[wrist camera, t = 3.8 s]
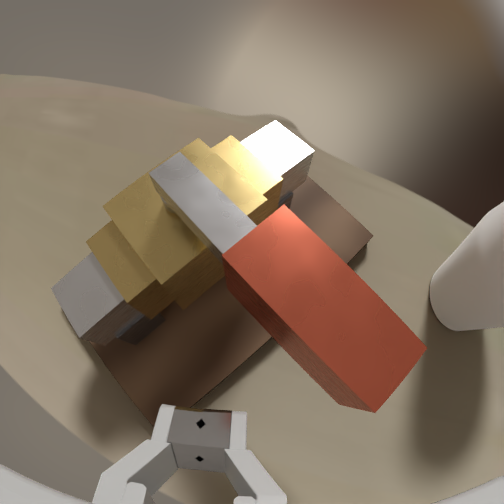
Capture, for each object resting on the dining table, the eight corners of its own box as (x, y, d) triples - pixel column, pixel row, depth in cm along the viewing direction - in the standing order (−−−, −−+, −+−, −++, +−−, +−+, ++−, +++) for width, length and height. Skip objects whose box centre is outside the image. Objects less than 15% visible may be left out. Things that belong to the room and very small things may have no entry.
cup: (404, 315, 25) (495, 268, 13) (433, 236, 28) (505, 166, 16) (472, 359, 23) (568, 335, 12) (494, 280, 26) (573, 232, 15)
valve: (308, 216, 26) (332, 149, 18) (134, 363, 21) (80, 353, 13) (258, 171, 28) (264, 99, 20) (92, 303, 23) (33, 266, 15)
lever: (149, 203, 16) (122, 146, 12) (190, 173, 17) (177, 111, 13) (334, 403, 13) (374, 412, 8) (375, 359, 13) (427, 347, 9)
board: (367, 242, 27) (373, 235, 26) (163, 429, 21) (158, 432, 19) (259, 146, 31) (260, 137, 29) (67, 295, 24) (59, 290, 23)
